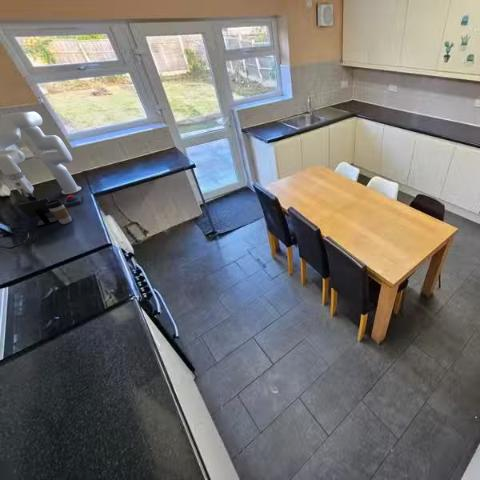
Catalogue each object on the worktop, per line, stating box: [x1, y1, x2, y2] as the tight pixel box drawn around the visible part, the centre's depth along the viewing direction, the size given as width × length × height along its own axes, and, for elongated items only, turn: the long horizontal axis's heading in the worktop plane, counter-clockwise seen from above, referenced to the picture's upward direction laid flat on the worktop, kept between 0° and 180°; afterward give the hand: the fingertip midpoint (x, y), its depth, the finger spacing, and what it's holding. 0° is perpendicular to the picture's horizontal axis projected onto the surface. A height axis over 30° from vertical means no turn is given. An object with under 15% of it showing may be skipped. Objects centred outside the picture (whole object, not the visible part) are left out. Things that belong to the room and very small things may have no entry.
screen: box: [17, 197, 51, 218], centre depth 173 cm, size 2×14×10 cm, turn 124°
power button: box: [66, 194, 74, 199], centre depth 198 cm, size 4×4×2 cm
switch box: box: [63, 194, 82, 208], centre depth 200 cm, size 11×9×4 cm
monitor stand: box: [35, 209, 59, 228], centre depth 176 cm, size 7×10×10 cm
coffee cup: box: [46, 199, 73, 225], centre depth 175 cm, size 8×8×15 cm
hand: (35, 202), depth 173 cm, fingers closed
